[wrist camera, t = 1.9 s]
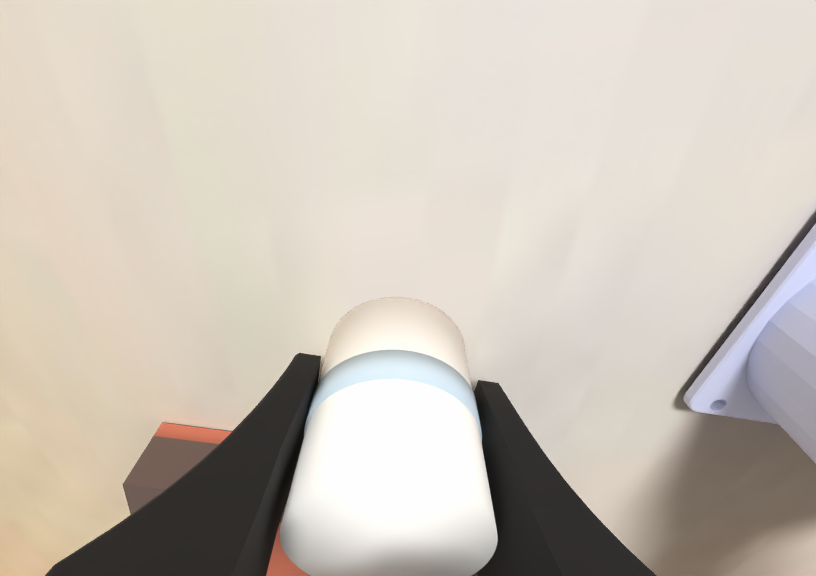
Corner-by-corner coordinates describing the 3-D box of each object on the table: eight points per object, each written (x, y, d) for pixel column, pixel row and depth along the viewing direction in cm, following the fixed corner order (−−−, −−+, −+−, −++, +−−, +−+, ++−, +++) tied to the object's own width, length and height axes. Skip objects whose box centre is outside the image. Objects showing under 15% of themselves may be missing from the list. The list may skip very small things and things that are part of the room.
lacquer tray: (519, 469, 17) (535, 532, 15) (447, 600, 23) (451, 658, 21) (162, 422, 15) (122, 484, 13) (187, 575, 22) (163, 634, 20)
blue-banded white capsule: (483, 309, 13) (532, 493, 8) (447, 411, 15) (466, 604, 10) (334, 284, 12) (280, 461, 7) (321, 392, 15) (273, 585, 10)
